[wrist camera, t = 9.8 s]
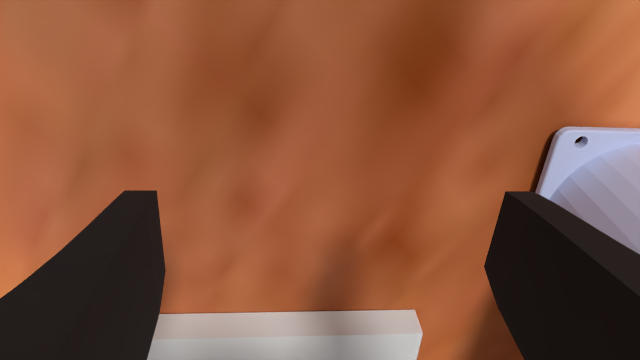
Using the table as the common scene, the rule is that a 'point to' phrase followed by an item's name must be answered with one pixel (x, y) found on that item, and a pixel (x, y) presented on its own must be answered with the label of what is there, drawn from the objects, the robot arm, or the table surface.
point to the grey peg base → (288, 336)
